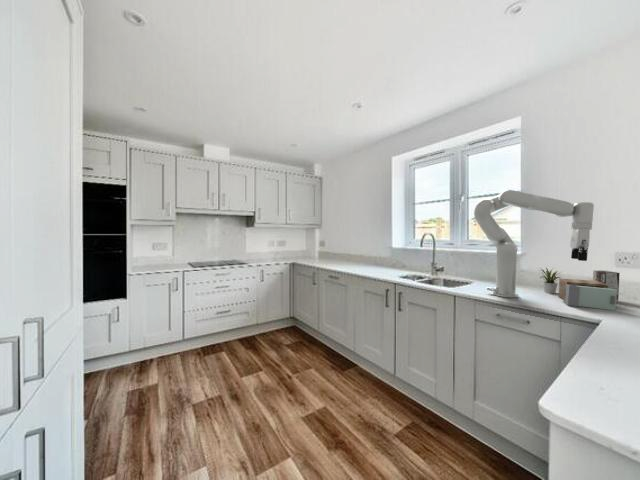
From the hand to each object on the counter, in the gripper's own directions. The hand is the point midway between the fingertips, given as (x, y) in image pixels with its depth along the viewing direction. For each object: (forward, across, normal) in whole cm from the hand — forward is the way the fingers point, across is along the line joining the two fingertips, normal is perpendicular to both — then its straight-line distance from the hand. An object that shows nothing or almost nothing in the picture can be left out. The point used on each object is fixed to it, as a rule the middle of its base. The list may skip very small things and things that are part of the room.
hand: (578, 259), depth 139 cm
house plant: (+24, -30, -5) cm, 39 cm away
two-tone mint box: (+23, +4, +5) cm, 24 cm away
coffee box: (+23, -20, +18) cm, 36 cm away
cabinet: (+23, -5, +5) cm, 25 cm away
